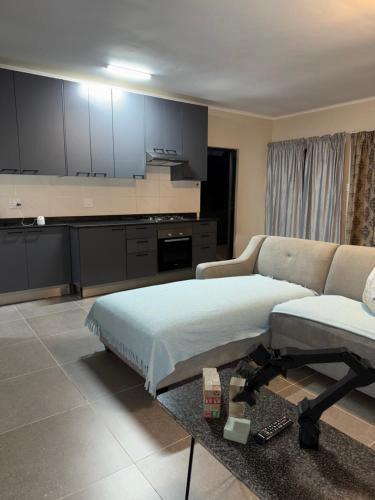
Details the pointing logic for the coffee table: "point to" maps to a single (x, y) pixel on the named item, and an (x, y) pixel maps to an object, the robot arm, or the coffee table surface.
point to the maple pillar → (234, 407)
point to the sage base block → (237, 429)
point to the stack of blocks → (211, 393)
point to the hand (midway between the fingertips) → (233, 396)
